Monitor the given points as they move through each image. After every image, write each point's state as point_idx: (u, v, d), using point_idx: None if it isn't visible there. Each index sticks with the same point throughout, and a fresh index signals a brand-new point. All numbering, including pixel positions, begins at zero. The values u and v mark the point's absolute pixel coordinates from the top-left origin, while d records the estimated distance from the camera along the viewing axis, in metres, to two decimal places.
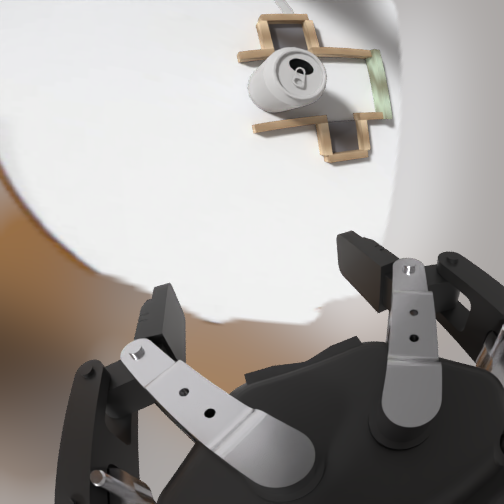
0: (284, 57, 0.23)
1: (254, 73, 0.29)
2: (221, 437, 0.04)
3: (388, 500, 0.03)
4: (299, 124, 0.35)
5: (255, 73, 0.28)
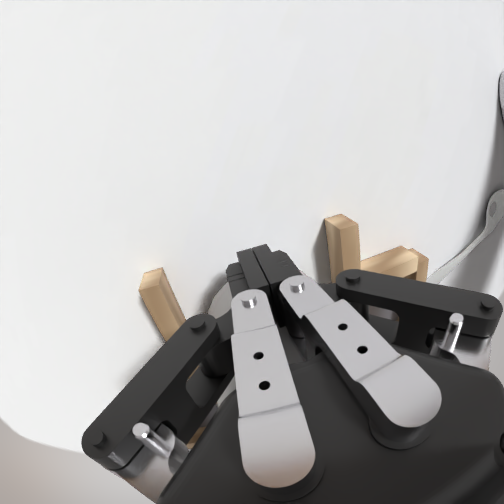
0: None
1: None
2: (254, 411, 0.05)
3: (388, 500, 0.03)
4: None
5: None
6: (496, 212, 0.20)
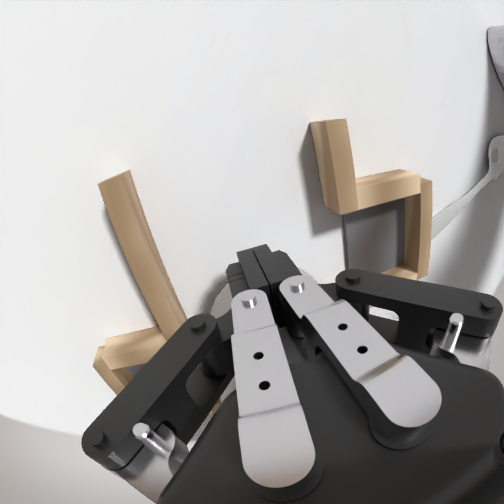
0: None
1: None
2: (254, 411, 0.05)
3: (388, 500, 0.03)
4: (148, 297, 0.14)
5: None
6: (499, 160, 0.17)
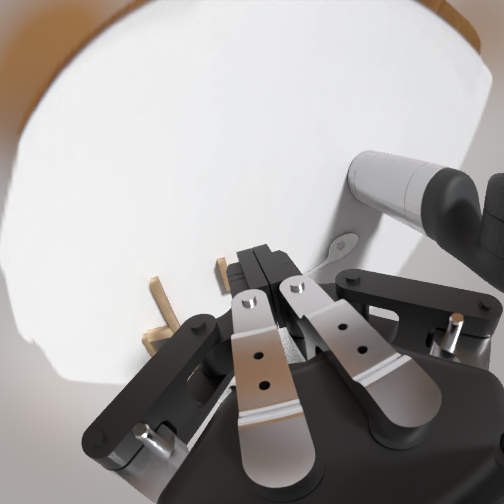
0: None
1: None
2: (254, 411, 0.05)
3: (388, 500, 0.03)
4: (165, 316, 0.43)
5: None
6: (345, 247, 0.46)
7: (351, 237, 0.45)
